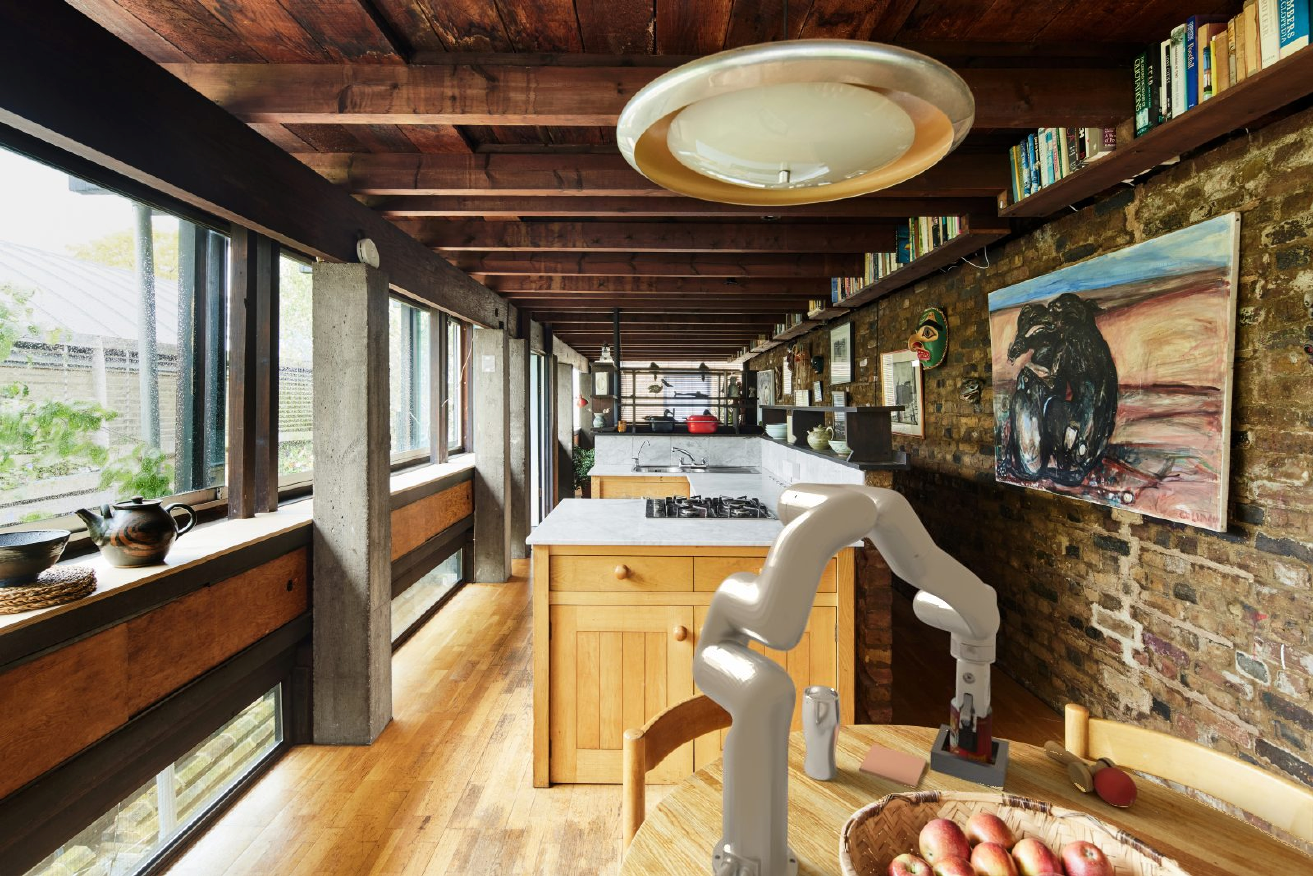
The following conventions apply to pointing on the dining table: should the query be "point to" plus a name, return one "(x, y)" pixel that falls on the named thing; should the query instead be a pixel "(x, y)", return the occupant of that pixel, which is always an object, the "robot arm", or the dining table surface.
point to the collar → (970, 761)
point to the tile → (893, 765)
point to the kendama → (1097, 776)
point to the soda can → (983, 735)
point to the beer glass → (821, 730)
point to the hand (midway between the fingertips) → (970, 739)
